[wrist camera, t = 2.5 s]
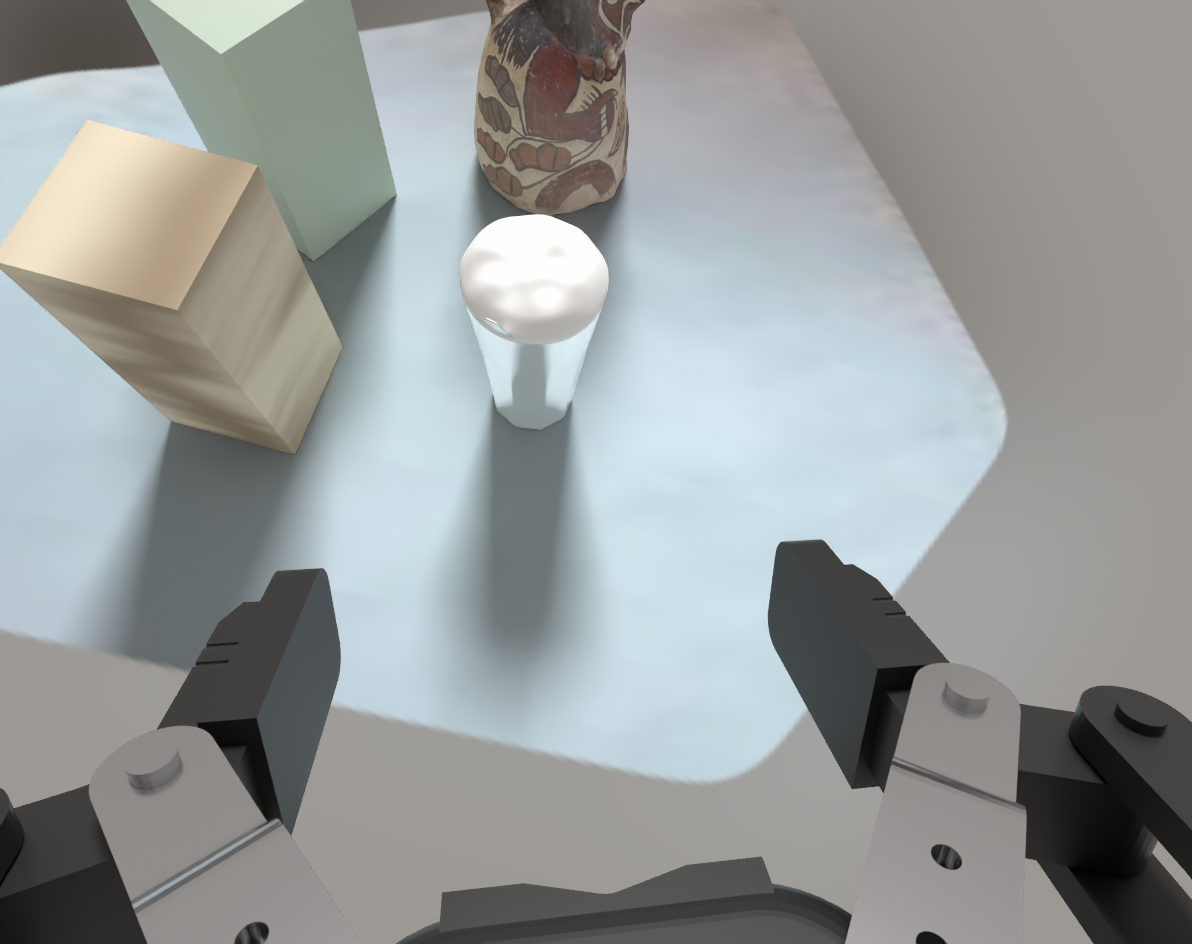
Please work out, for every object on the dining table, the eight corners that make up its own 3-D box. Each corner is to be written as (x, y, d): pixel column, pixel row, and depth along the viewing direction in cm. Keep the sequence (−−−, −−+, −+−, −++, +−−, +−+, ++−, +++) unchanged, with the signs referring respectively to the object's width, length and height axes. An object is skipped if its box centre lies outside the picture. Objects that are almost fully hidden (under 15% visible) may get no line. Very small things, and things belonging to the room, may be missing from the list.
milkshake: (449, 436, 28) (411, 289, 19) (505, 331, 30) (495, 151, 21) (554, 480, 28) (567, 352, 19) (603, 371, 30) (638, 206, 21)
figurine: (595, 238, 33) (631, -24, 21) (451, 185, 33) (412, -101, 22) (645, 130, 35) (701, -155, 24) (512, 82, 35) (505, -222, 24)
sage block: (233, 197, 32) (110, -30, 22) (318, 135, 33) (237, -102, 24) (313, 261, 31) (220, 54, 21) (396, 194, 32) (344, -26, 23)
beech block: (170, 421, 28) (-10, 260, 18) (226, 315, 29) (87, 119, 20) (295, 454, 28) (177, 309, 18) (342, 346, 29) (257, 165, 20)
